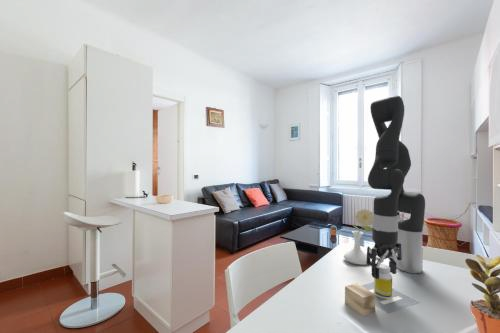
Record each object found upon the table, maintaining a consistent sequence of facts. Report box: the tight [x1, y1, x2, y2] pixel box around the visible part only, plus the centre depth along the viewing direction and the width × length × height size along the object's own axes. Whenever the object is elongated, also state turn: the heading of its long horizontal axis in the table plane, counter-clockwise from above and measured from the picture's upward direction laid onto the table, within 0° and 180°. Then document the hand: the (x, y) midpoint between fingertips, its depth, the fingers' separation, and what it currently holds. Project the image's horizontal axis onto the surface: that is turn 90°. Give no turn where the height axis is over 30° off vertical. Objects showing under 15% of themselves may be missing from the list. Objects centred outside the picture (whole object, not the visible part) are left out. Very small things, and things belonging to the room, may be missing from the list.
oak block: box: [344, 283, 376, 316], centre depth 73 cm, size 5×7×6 cm
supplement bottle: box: [373, 263, 393, 299], centre depth 80 cm, size 5×5×10 cm
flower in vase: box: [343, 208, 373, 266], centre depth 109 cm, size 13×11×25 cm
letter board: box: [360, 281, 420, 314], centre depth 80 cm, size 15×15×1 cm
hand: (384, 275), depth 80 cm, fingers open, 8 cm apart
